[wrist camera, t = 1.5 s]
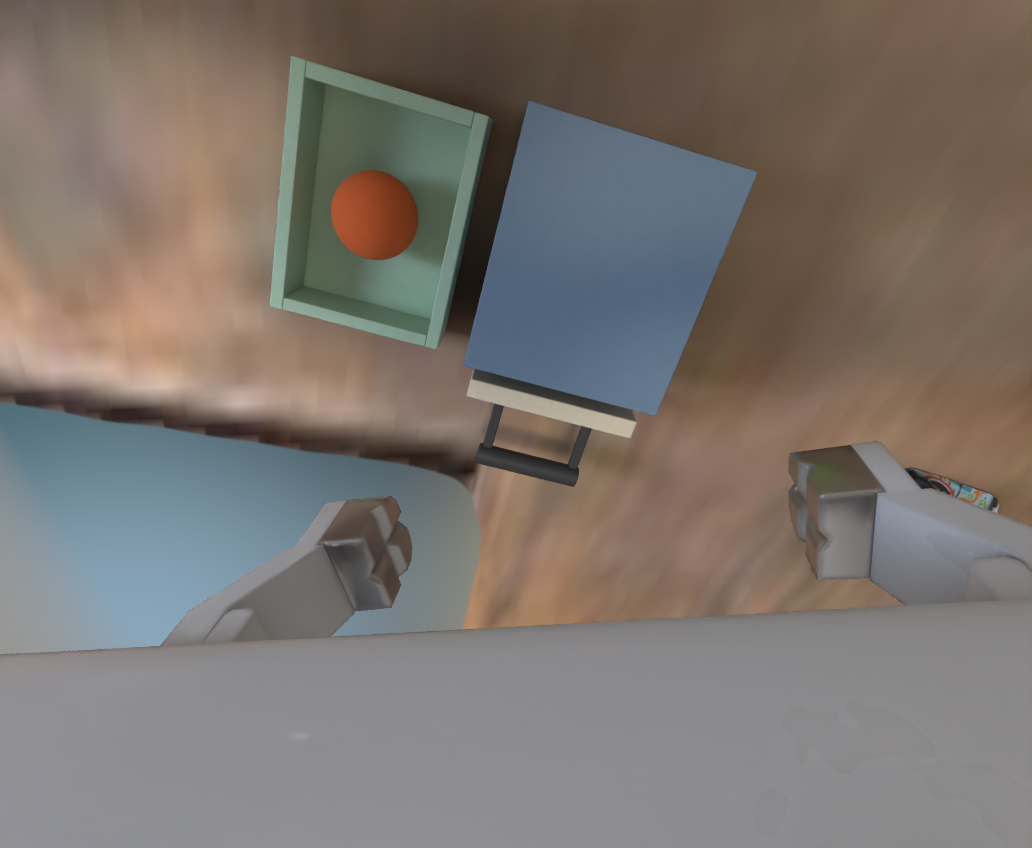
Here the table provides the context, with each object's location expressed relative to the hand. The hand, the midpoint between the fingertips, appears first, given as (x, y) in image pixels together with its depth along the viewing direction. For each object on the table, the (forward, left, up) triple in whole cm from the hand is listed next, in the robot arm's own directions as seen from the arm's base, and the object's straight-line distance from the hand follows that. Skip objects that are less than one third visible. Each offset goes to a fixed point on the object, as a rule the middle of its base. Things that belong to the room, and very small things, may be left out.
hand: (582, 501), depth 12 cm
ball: (-11, 0, -26) cm, 28 cm away
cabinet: (+2, +1, -29) cm, 29 cm away
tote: (-11, 0, -29) cm, 30 cm away
